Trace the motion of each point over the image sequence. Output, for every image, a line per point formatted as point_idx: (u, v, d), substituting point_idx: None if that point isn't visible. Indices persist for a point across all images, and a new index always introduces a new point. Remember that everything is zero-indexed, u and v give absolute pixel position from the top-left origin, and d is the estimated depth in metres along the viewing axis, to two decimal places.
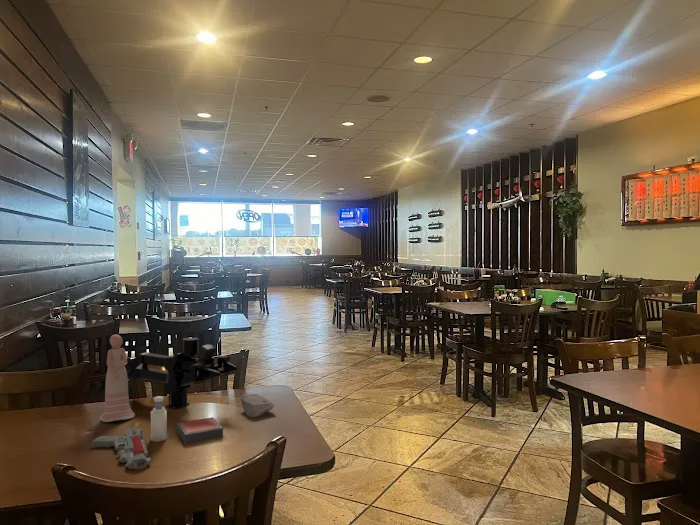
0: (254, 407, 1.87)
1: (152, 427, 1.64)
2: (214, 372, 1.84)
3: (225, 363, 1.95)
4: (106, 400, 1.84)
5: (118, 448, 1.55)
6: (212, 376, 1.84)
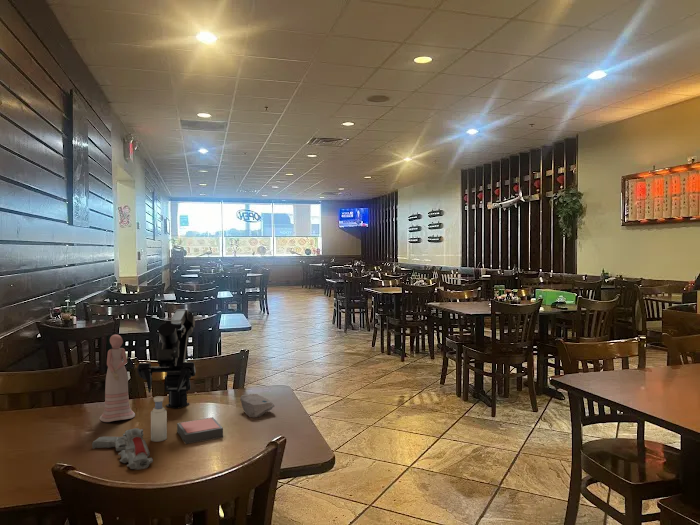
0: (255, 407, 1.87)
1: (152, 427, 1.64)
2: None
3: None
4: (106, 400, 1.84)
5: (119, 448, 1.55)
6: None
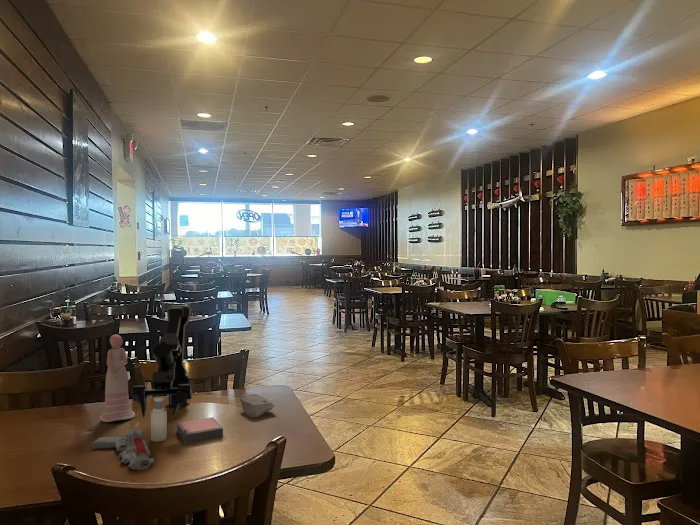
0: (255, 407, 1.87)
1: (152, 427, 1.64)
2: None
3: (176, 397, 1.69)
4: (106, 400, 1.84)
5: (120, 449, 1.55)
6: None
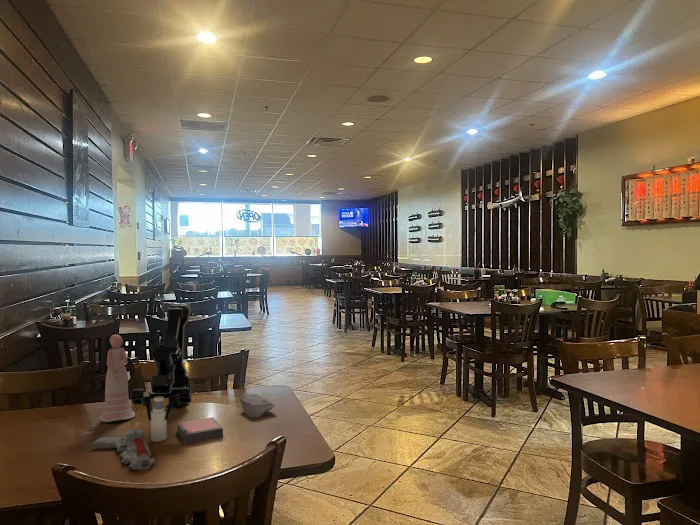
0: (255, 407, 1.87)
1: (152, 427, 1.64)
2: None
3: None
4: (106, 400, 1.84)
5: (120, 449, 1.54)
6: None
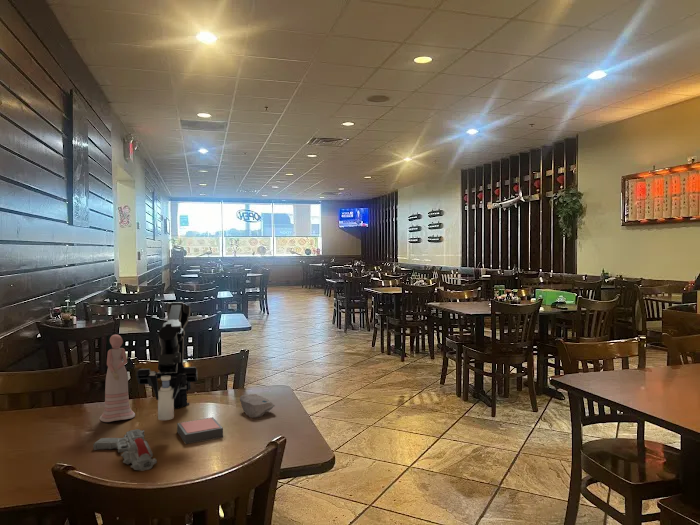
0: (255, 407, 1.87)
1: (159, 406, 1.64)
2: None
3: (176, 380, 1.68)
4: (106, 400, 1.84)
5: (121, 450, 1.54)
6: None
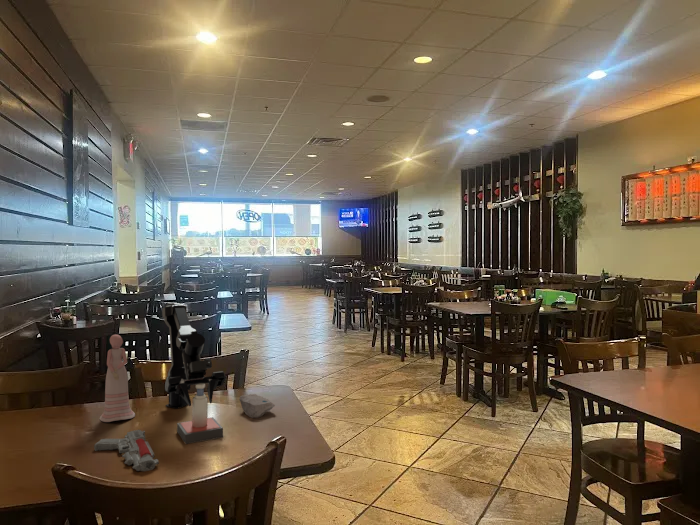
0: (256, 407, 1.87)
1: (196, 413, 1.68)
2: (187, 399, 1.67)
3: (209, 385, 1.73)
4: (106, 400, 1.84)
5: (122, 450, 1.54)
6: (185, 400, 1.69)
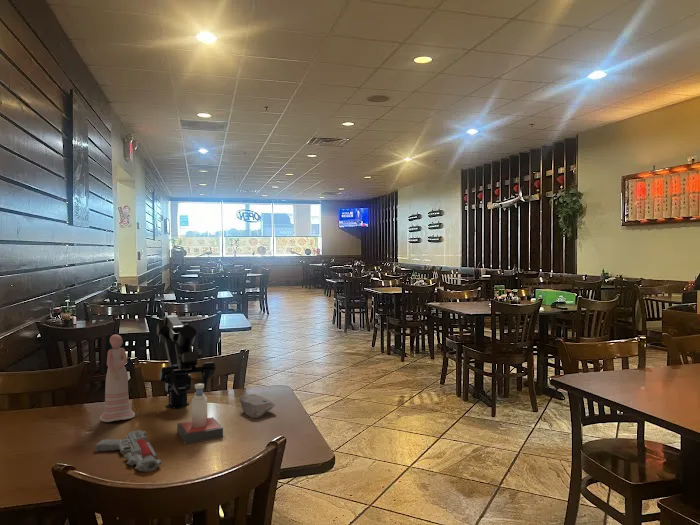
0: (256, 407, 1.87)
1: (196, 414, 1.68)
2: (175, 388, 1.77)
3: (204, 374, 1.84)
4: (106, 400, 1.84)
5: (124, 451, 1.53)
6: (173, 389, 1.79)
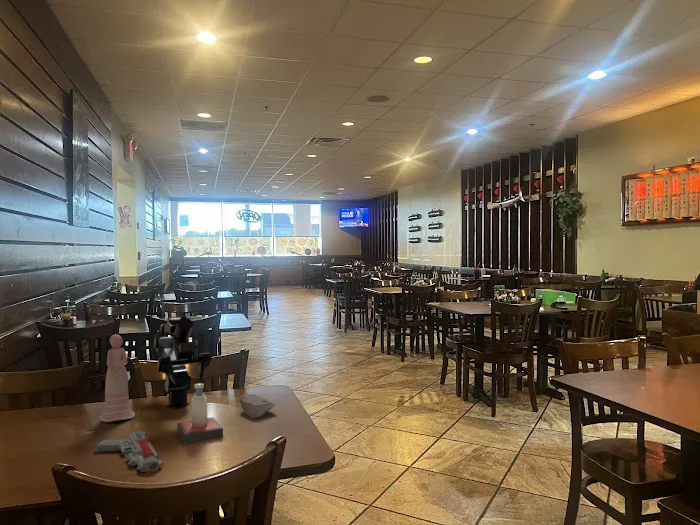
0: (256, 408, 1.87)
1: (195, 413, 1.68)
2: (172, 378, 1.82)
3: (200, 364, 1.89)
4: (106, 400, 1.84)
5: (125, 452, 1.53)
6: (171, 378, 1.84)
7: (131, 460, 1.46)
